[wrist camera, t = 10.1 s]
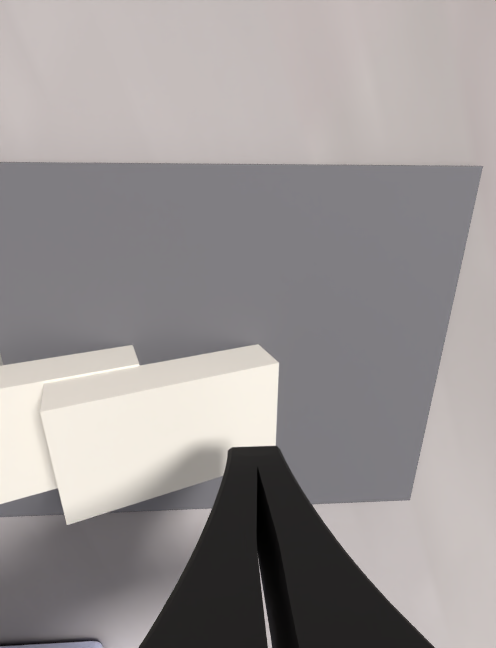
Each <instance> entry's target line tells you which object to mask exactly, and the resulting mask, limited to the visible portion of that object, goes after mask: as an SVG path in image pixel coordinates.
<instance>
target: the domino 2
mask: <svg viewBox="0 0 496 648" xmlns="http://www.w3.org/2000/svg"><path fill="white" fill-rule="evenodd" d="M278 376H279V362H278V361H276V360H275V359H274V358H273V357H272V356H271V355H270V354H269V353H268V352H266V351H265V350H264V349H263V348H262V347H261V346H260V345H259V344H256V345H251V346H245V347H240V348H234V349H229V350H223V351H218V352H212V353H207V354H201V355H196V356H190V357H185V358H179V359H174V360H168V361H163V362H157V363H152V364H146V365H141V366H135V367H130V368H124V369H118V370H113V371H107V372H102V373H96V374H91V375H85V376H80V377H74V378H69V379H63V380H58V381H52V382H47V383H44V387H43V394H42V401H41V409H40V414H41V418H42V423H43V427H44V431H45V435H46V440H47V444H48V448H49V452H50V456H51V461H52V465H53V469H54V473H55V477H56V482H57V486H58V490H59V494H60V499H61V503H62V507H63V511H64V515H65V520H66V524H67V525H69V524H73V523H76V522H79V521H82V520H85V519H88V518H92V517H95V516H98V515H101V514H104V513H107V512H110V511H114V510H117V509H120V508H123V507H126V506H129V505H133V504H136V503H139V502H142V501H145V500H148V499H152V498H155V497H158V496H161V495H164V494H167V493H170V492H174V491H177V490H180V489H183V488H186V487H189V486H193V485H196V484H199V483H202V482H205V481H208V480H211V479H215V478H218V477H221V476H223V475H224V471H225V467H226V462H227V454H228V450H229V449H230V448H232V447H251V446H276V425H277V400H278Z"/></svg>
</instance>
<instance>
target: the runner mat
mask: <svg viewBox="0 0 496 648" xmlns="http://www.w3.org/2000/svg"><path fill="white" fill-rule="evenodd" d="M482 168H483V166H418V165H295V164H171V163H47V162H0V355H1V358H2V362H3V365H8V364H15V363H21V362H27V361H34V360H40V359H46V358H53V357H59V356H65V355H72V354H78V353H84V352H91V351H97V350H103V349H110V348H116V347H122V346H129V345H133V347H134V350H135V353H136V356H137V359H138V362H139V365H140V366H141V365H146V364H152V363H157V362H163V361H168V360H174V359H179V358H185V357H190V356H196V355H201V354H207V353H212V352H218V351H223V350H229V349H234V348H240V347H245V346H251V345H256V344H259V345H260V346H261V347H262V348H263V349H264V350H265V351H266V352H268V353H269V354H270V355H271V356H272V357H273V358H274V359H275V360H276V361H278V362H279V376H278V400H277V425H276V446H277V447H279V448H280V450H281V452H282V454H283V456H284V458H285V460H286V462H287V464H288V466H289V468H290V470H291V472H292V473H293V475H294V477H295V479H296V480H297V482H298V484H299V485H300V487H301V489H302V490H303V492H304V494H305V495H306V497H307V498H308V500H309V501H310V503H311V504H329V503H353V502H377V501H402V500H410V497H411V492H412V488H413V483H414V479H415V474H416V469H417V465H418V460H419V456H420V451H421V447H422V442H423V437H424V433H425V428H426V424H427V419H428V415H429V410H430V406H431V401H432V396H433V392H434V387H435V383H436V378H437V374H438V369H439V364H440V360H441V355H442V351H443V346H444V342H445V337H446V332H447V328H448V323H449V319H450V314H451V310H452V305H453V300H454V296H455V291H456V287H457V282H458V278H459V273H460V269H461V264H462V259H463V255H464V250H465V246H466V241H467V237H468V232H469V227H470V223H471V218H472V214H473V209H474V205H475V200H476V195H477V191H478V186H479V182H480V177H481V173H482ZM222 478H223V476H221V477H218V478H215V479H211V480H208V481H205V482H202V483H199V484H196V485H193V486H189V487H186V488H183V489H180V490H177V491H174V492H170V493H167V494H164V495H161V496H158V497H155V498H152V499H148V500H145V501H142V502H139V503H136V504H133V505H129V506H126V507H123V508H120V509H117V510H114V511H110V512H107V513H112V512H136V511H160V510H184V509H208V508H213V505H214V502H215V499H216V496H217V494H218V491H219V488H220V485H221V481H222ZM63 514H64V511H63V507H62V503H61V499H60V494H59V490H58V488H57V489H53V490H49V491H46V492H42V493H39V494H35V495H31V496H28V497H24V498H21V499H17V500H13V501H10V502H6V503H3V504H0V517H15V516H39V515H63Z"/></svg>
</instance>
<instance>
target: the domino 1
mask: <svg viewBox="0 0 496 648" xmlns="http://www.w3.org/2000/svg"><path fill="white" fill-rule="evenodd" d="M135 366H140V365H139V362H138V359H137V356H136V353H135V350H134V347H133V345H129V346H122V347H116V348H110V349H103V350H97V351H91V352H84V353H78V354H72V355H65V356H59V357H53V358H46V359H40V360H34V361H27V362H21V363H15V364H8V365H2V366H0V504H3V503H6V502H10V501H13V500H17V499H21V498H24V497H28V496H31V495H35V494H39V493H42V492H46V491H49V490H53V489H57V488H58V486H57V482H56V477H55V473H54V469H53V465H52V461H51V456H50V452H49V448H48V444H47V440H46V435H45V431H44V427H43V423H42V418H41V414H40V409H41V401H42V394H43V387H44V383H47V382H52V381H58V380H63V379H69V378H74V377H80V376H85V375H91V374H96V373H102V372H107V371H113V370H118V369H124V368H130V367H135Z"/></svg>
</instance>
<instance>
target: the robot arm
mask: <svg viewBox="0 0 496 648" xmlns="http://www.w3.org/2000/svg"><path fill="white" fill-rule="evenodd" d="M257 553H258V554H257ZM258 559H259V564H258ZM259 566H260V572H261V578H262V584H263V591H264V597H265V603H266V609H267V616H268V622H269V628H270V635H271V641H272V648H435V647H434V646H433V645H432V644H431V643H430V642H429V641H428V640H427V639H426V638H425V637H424V636H423V635H422V634H421V633H420V632H419V631H418V630H417V629H416V628H415V627H414V626H413V625H412V624H411V623H410V622H409V621H408V620H407V619H406V618H405V617H404V616H403V615H402V614H401V613H400V612H399V611H398V610H397V609H396V608H395V607H394V606H393V605H392V604H391V603H390V602H389V601H388V600H387V599H386V598H385V597H384V595H383V594H382V593H381V592H380V591H379V590H378V589H377V588H376V587H375V585H374V584H373V583H372V582H371V581H370V580H369V579H368V578H367V576H366V575H365V574H364V573H363V572H362V571H361V569H360V568H359V567H358V566H357V565H356V563H355V562H354V561H353V560H352V559H351V557H350V556H349V555H348V554H347V552H346V551H345V550H344V549H343V547H342V546H341V545H340V544H339V542H338V541H337V540H336V538H335V537H334V536H333V534H332V533H331V531H330V530H329V529H328V527H327V526H326V525H325V523H324V522H323V520H322V519H321V518H320V516H319V515H318V513H317V512H316V510H315V509H314V507H313V506H312V504H311V503H310V501H309V500H308V498H307V497H306V495H305V494H304V492H303V490H302V489H301V487H300V485H299V484H298V482H297V480H296V479H295V477H294V475H293V473H292V472H291V470H290V468H289V466H288V464H287V462H286V460H285V458H284V456H283V454H282V452H281V450H280V448H279V447H277V446H251V447H232V448H230V449H229V450H228V454H227V462H226V467H225V471H224V475H223V478H222V481H221V485H220V488H219V491H218V494H217V496H216V499H215V502H214V505H213V508H212V510H211V513H210V515H209V518H208V520H207V522H206V525H205V527H204V529H203V531H202V534H201V536H200V538H199V541H198V543H197V545H196V547H195V549H194V551H193V553H192V555H191V558H190V560H189V562H188V564H187V566H186V567H185V569H184V571H183V573H182V575H181V577H180V579H179V581H178V583H177V584H176V586H175V588H174V590H173V592H172V593H171V595H170V597H169V599H168V600H167V602H166V604H165V605H164V607H163V609H162V611H161V612H160V614H159V616H158V618H157V619H156V621H155V622H154V624H153V626H152V627H151V629H150V631H149V632H148V634H147V635H146V637H145V639H144V640H143V642H142V643H141V645H140V646H139V648H268V646H267V637H266V628H265V619H264V610H263V601H262V592H261V583H260V573H259ZM0 648H103V646H102V644H101V643H99V642H97V641H83V642H66V643H49V644H33V645H16V646H0Z"/></svg>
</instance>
